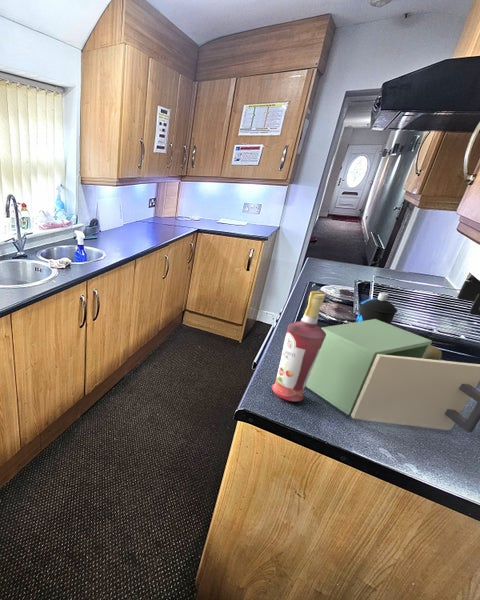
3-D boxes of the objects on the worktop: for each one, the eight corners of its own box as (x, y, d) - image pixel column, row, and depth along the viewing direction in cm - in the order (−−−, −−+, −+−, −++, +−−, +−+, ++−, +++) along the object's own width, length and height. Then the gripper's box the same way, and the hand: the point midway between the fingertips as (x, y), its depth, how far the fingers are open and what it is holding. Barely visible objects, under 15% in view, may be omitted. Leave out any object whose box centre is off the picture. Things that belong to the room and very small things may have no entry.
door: (471, 450, 67) (514, 383, 60) (367, 435, 70) (397, 370, 64) (446, 428, 72) (483, 364, 66) (350, 415, 76) (377, 353, 69)
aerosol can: (382, 354, 101) (408, 295, 93) (370, 362, 97) (396, 301, 89) (351, 343, 107) (373, 286, 99) (339, 349, 103) (360, 291, 95)
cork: (433, 390, 85) (452, 355, 80) (404, 386, 87) (422, 350, 82) (420, 377, 90) (437, 342, 86) (393, 372, 92) (408, 339, 88)
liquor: (310, 405, 79) (347, 299, 67) (280, 406, 78) (312, 300, 67) (291, 386, 85) (323, 286, 74) (263, 386, 85) (291, 287, 74)
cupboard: (403, 400, 81) (432, 340, 75) (348, 415, 76) (374, 352, 69) (353, 373, 92) (375, 318, 85) (302, 384, 86) (321, 327, 80)
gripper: (578, 229, 50) (519, 328, 56) (532, 216, 62) (489, 299, 69) (503, 223, 54) (457, 317, 60) (474, 213, 67) (438, 291, 73)
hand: (474, 307), depth 65 cm, fingers open, 9 cm apart
